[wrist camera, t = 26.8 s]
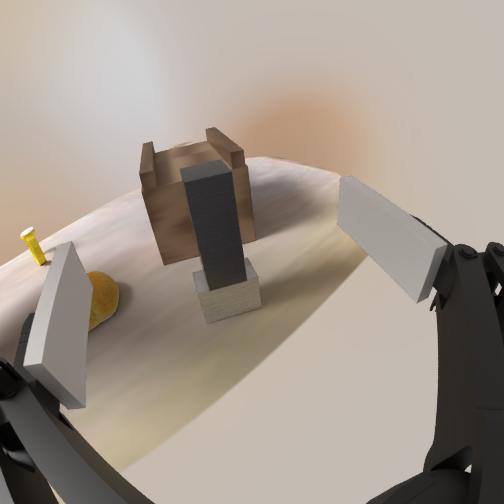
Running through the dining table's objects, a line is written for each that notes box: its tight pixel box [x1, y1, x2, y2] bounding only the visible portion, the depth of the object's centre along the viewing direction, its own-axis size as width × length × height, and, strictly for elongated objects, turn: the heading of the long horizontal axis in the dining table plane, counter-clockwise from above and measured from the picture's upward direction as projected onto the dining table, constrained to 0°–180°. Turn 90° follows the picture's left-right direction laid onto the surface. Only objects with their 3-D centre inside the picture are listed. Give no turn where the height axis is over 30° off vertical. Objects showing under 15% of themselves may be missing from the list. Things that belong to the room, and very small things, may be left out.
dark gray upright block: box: [180, 159, 261, 323], centre depth 25 cm, size 6×3×14 cm, turn 108°
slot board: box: [139, 127, 256, 265], centre depth 40 cm, size 12×16×12 cm
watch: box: [20, 227, 46, 266], centre depth 39 cm, size 6×3×6 cm, turn 54°
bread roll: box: [86, 272, 119, 332], centre depth 30 cm, size 8×9×4 cm
